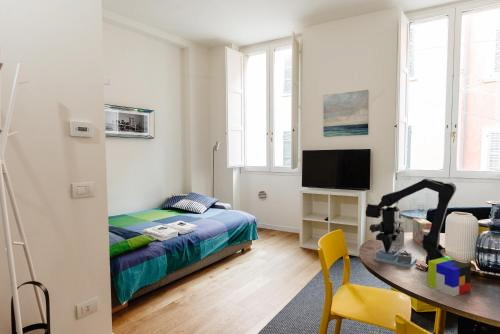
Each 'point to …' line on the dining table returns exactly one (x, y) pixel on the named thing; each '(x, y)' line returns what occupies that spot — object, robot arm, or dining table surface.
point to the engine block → (391, 250)
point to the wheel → (404, 257)
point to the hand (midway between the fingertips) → (388, 250)
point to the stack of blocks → (420, 229)
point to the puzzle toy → (449, 276)
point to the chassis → (393, 259)
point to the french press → (399, 240)
